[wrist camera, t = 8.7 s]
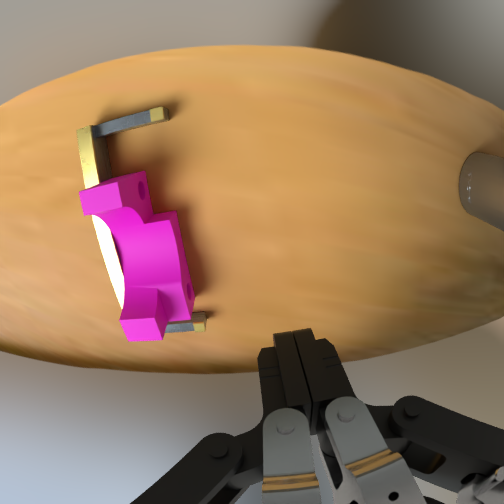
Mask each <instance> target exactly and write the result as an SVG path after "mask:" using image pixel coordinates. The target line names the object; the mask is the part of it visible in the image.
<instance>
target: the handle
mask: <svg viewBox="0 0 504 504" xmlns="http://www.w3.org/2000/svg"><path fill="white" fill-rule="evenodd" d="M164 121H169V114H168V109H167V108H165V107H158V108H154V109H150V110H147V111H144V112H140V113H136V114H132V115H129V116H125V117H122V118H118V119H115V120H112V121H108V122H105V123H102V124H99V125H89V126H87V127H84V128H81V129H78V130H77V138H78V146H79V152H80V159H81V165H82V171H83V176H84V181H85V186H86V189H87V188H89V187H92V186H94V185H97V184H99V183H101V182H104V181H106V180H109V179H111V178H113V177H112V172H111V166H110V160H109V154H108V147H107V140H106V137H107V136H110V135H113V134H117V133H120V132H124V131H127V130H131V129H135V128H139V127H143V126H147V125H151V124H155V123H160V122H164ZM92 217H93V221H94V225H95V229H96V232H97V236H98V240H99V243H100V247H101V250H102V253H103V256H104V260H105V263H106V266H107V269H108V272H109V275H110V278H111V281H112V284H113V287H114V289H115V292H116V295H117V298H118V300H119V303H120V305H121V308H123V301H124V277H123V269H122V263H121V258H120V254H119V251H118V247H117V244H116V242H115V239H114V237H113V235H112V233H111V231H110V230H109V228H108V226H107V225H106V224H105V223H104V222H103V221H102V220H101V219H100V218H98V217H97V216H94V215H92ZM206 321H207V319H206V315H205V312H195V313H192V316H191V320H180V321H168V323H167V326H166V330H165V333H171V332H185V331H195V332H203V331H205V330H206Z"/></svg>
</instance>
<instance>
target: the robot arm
mask: <svg viewBox="0 0 504 504" xmlns="http://www.w3.org/2000/svg"><path fill="white" fill-rule="evenodd" d="M459 193H460V199H461V203H462V205H463V207H464V209H465V210H466V211H467V212H468V213H469V214H471V215H473V216H475V217H477V218H479V219H481V220H483V221H485V222H487V223H489V224H491V225H493V226H495V227H497V228H499V229H500V230H502V231H504V158H502V157H498V156H494V155H489V154H485V153H479V152H476V153H473V154H472V155H470V156H469V157H468V158H467V160H466V161H465V163H464V165H463V168H462V170H461V175H460V181H459ZM273 341H274V347H268V348H262V349H261V351H260V353H259V356H258V358H257V359H258V368H259V377H260V385H261V394H262V403H263V417H262V420H261V421H260V423H259V424H258V425H257V426H256V427H255V428H253V429H252V430H250V431H248V432H246V433H243V434H240V435H237V436H235V437H234V436H232V435H230V434H226V433H214V434H210V435H208V436H206V437H204V438H203V439H202V440H201V441H200V442H199V443H198V444H197V445H196V446H195V447H194V448H193V449H192V450H191V451H190V452H189V453H187V454H186V455H185V456H184V457H183V458H182V459H181V460H180V461H179V462H178V463H177V464H176V465H175V466H174V467H172V468H171V469H170V470H169V471H168V472H167V473H166V474H165V475H164V476H162V477H161V478H160V479H159V480H158V481H157V482H156V483H154V484H153V485H152V486H151V487H150V488H148V489H147V490H146V491H145V492H144V493H142V494H141V495H140V496H139V497H138V498H137V499H135V500H134V501H133V502H131V503H130V504H234V503H235V502H236V501H237V500H238V499H239V498H240V496H241V495H242V494H243V493H244V492H245V491H246V490H247V488H248V487H249V486H250V485H252V484H255V483H258V482H260V481H263V484H262V504H321V495H320V488H319V483H318V480H317V477H316V475H315V468H314V460H313V453H312V445H311V438H310V435H315V434H317V436H318V439H319V443H320V444H319V453H320V456H321V459H322V462H323V465H324V468H325V471H326V474H327V476H328V479H329V482H330V485H331V488H332V491H333V501H334V504H444V503H442V502H440V501H437V500H435V499H433V498H430V497H426V496H423V495H422V493H421V491H420V489H419V487H418V485H417V483H416V481H415V479H414V477H413V476H415V477H418V478H420V479H422V480H425V481H427V482H430V483H432V484H434V485H437V486H439V487H442V488H445V489H447V490H450V491H453V492H456V493H458V498H457V504H504V430H503V429H500V428H497V427H494V426H491V425H489V424H486V423H483V422H480V421H478V420H475V419H472V418H470V417H467V416H464V415H461V414H459V413H457V412H454V411H451V410H449V409H447V408H444V407H442V406H439V405H437V404H434V403H432V402H430V401H427V400H425V399H422V398H420V397H417V396H405V397H403V398H401V399H399V400H398V401H397V402H396V403H395V404H394V406H372V405H368V404H365V403H363V402H362V401H361V400H359V399H358V398H357V397H356V396H355V394H354V392H353V389H352V387H351V385H350V382H349V380H348V377H347V375H346V373H345V371H344V368H343V366H342V365H341V361H340V359H339V357H338V354H337V352H336V349H335V347H334V345H332V344H331V343H330V342H329V341H328V340H327V339H325V338H324V339H318V340H315V337H314V335H313V332H312V330H311V328H307V329H301V330H295V331H292V332H291V331H289V332H282V333H275V334H273Z"/></svg>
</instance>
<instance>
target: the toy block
mask: <svg viewBox="0 0 504 504" xmlns="http://www.w3.org/2000/svg"><path fill="white" fill-rule="evenodd" d="M79 195H80V200H81V204H82V208H83V212H84V216H85V215H94V216H97V217H98V218H100V219H101V220H102V221H103V222H104V223H105V224H106V225H107V226H108V228H109V230H110V231H111V233H112V235H113V237H114V239H115V242H116V244H117V247H118V251H119V254H120V258H121V263H122V269H123V277H124V301H123V308H122V313H121V316H120V319H119V321H120V323H121V325H122V328H123V330H124V332H125V334H126V337H127V339H128V341H151V340H163V337H164V333H165V330H166V326H167V323H168V321H180V320H191V316H192V311H193V306H194V300H195V295H194V291H193V287H192V282H191V278H190V274H189V269H188V265H187V261H186V256H185V251H184V247H183V242H182V237H181V232H180V227H179V222H178V217H177V212H176V211H170V212H164V213H158V214H153V209H152V205H151V200H150V194H149V189H148V184H147V178H146V172H145V171H140V172H136V173H131V174H127V175H123V176H119V177H115V178H111V179H109V180H106V181H104V182H101V183H99V184H97V185H94V186H92V187H89V188H87V189H85V190H82V191H80V192H79Z"/></svg>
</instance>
